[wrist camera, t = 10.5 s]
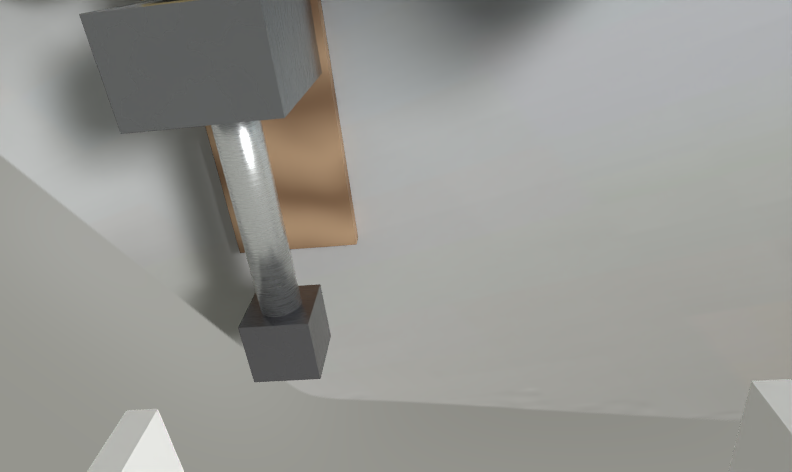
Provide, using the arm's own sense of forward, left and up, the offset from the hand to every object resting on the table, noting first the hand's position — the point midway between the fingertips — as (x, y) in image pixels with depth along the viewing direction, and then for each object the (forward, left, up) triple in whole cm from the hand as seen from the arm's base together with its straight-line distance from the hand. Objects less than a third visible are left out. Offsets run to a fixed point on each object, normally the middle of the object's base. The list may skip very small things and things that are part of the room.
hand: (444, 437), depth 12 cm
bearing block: (-6, -12, -31) cm, 33 cm away
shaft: (+4, -12, -26) cm, 29 cm away
